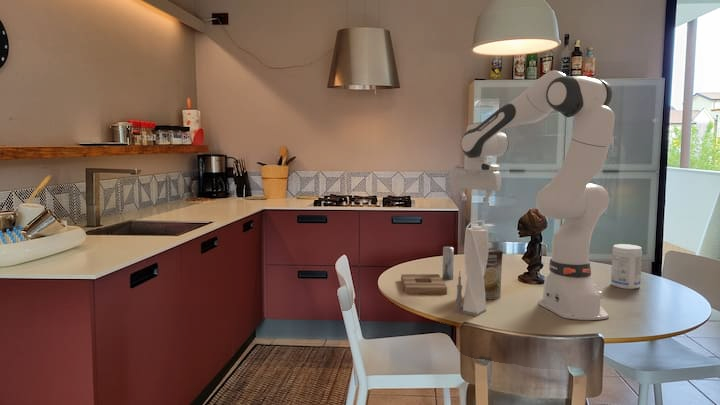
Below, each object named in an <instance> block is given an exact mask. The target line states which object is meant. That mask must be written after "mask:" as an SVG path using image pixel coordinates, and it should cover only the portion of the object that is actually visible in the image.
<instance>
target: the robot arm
mask: <svg viewBox="0 0 720 405" xmlns="http://www.w3.org/2000/svg"><path fill="white" fill-rule="evenodd" d="M612 98H613V90H612V87H611V85H610V84H609V83H608V82H607V81H605V80H603V79H602V78H597V77H594V78H593V77H588V76H584V75H572V76H571V75H566V74H565V73H563V72H562V71H559V70H556V69H555V70H550V71H548V72H546V73H545V74H543V75H542V76H541V77H539V78H537V79H536V80H535V81H534V82H532V83H531V84H530V86H528V87H527V88H526V89H525V90H524V91H523V92H522V93H520V94H519V95H518V96H517V97H515V98H514V99H513V100H510V102H508V103H507V104H504V105H503V106H502V107H500V108H498V109H497V110H496V111H495V112H494V113H492V114H491V115H490V116H488V118H486V119H485V120H484V121H482V122H473V123H470V124H469V125H468V126H467V127H466V129H465V130H466V131H465V133H464V134H463V135H462V138H461V141H460V149H461V151H462V152H463V154H464V164H462V165H460V164H456V165H455V166H454V167H453V168H452V177H451V182H450V186H451V187H452V189H459V190H458V192H459V194H460V196H461V201H467V200H468V195H466V193H465V192H466V190H476V191H477V190H479V191H485V196H484V197H482V203H489V201H490V199H489V198H490V197H491V195H492V193H493V191H495V192H496V191H500V190H501V188H502V175H501V173H500V172H501V171H500V169H501V166H500V164H497V163H495V162H492V161H489V158H499V157H502V156H504V155H505V154H506V153H507V151H508V149H509V137H508V136H507V134H505V132H503V130H504V129H506V128H510V127H514V126H520V125H529V124H535V123H538V122H540V121H541V120H543V119H545V118H546V117H548V115H550V114H551V113H552V112H553V111H554V110H555V111H556V112H558V113H561V114H562V116H564V117H565V118H571V117H572V119H573V120H574V127H573V131H572V134H571V137H570V141H569V144H568V147H567V151H566V154H565V157H564V160H563V162H562V164H561V166H560V168H559V169H558V171H557V172H556V174H555V175H554V177H553V178H552V179H551V180H550V181H549V183H547V184H546V185H545V186H544V187H542V188H541V189H540V190H539V191H538V192H537V195H536V198H535V203H536V204H535V206H536V209H537V210H538V212H539V214H541V216H543V217H544V218H549V219H553V220H554V219H555V220H563V222H562V224H561V226H560V227H559V229H558V230H556V231H555V232H554V234H553V236H552V240H551V258H550V259H549V263H548V264H549V266H548V268H549V274H547V276H546V277H545V278H544V283H543V290H542V291H543V292H542V298H541V299H539V300H538V302H537V304H538V305H540V306H542V307H544V308H545V309H547V310H549V311H551V312H552V313H553V314H556V315H557V316H559V317H561V318H563V319H570V320H580V321H584V320H585V321H593V320H595V321H596V320H598V321H599V320H605V319H608V318H609V314H608V312H607V311H606V310H605V309H604V308H603V306H601V300H602V299H603V291H599V290H598V289H597V285H596V284H595V283H594V281H593V279H592V277H591V276H592V271H591V270H592V267H591V263H590V261H589V260H590V247H591V246H590V245H591V238H592V235H593V232H594V229H595V226H596V224H597V222H598V220H599V218H600V217H601V216H602V215H603V213H605V212H606V210H607V209H608V207H609V204H610V196H609V193H608V191H607V189H606V188H605V187H603V186H602V185H599V184H596V183H592V182H591V181H592V179H594V177H596V176H597V175H598V174H600V173H601V172H602V171H603V169H604V165H605V162H606V158H607V155H608V153H609V149H610V145H611V143H612V138H613V134H614V127H615V119H616V116H615V113H614V110H612V109H611V108H610V106H609V105H610V103H611V101H612ZM608 106H609V107H608Z"/></svg>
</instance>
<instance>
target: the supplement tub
mask: <svg viewBox="0 0 720 405" xmlns="http://www.w3.org/2000/svg"><path fill="white" fill-rule="evenodd" d="M611 253H612V256H611V275H610V278H611V279H610V280H611V281H610V282H611V285H612V286H614V287H616V288H619V289H626V290H627V289H629V290H634V289H638V288H640V286H641V283H642V282H641V279H642V259H643V250H642V247H641V246H639V245H636V244H629V243H627V244H626V243H619V244H618V243H617V244H614V245H613V246H612V252H611Z"/></svg>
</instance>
